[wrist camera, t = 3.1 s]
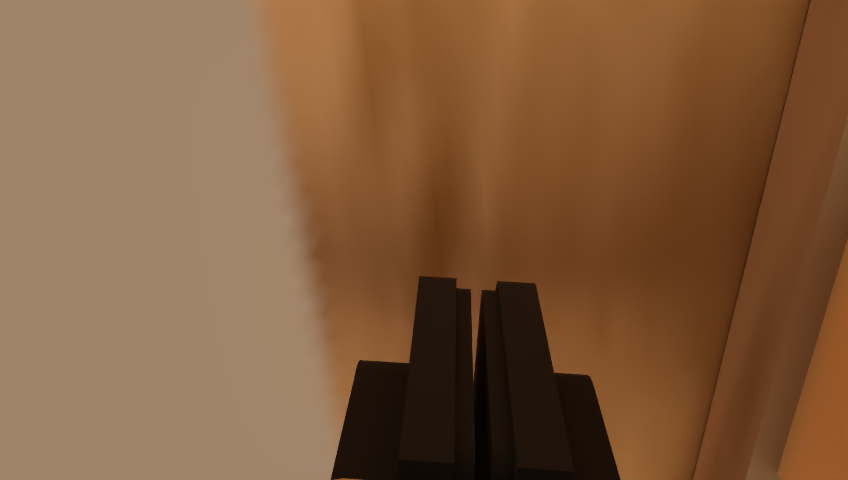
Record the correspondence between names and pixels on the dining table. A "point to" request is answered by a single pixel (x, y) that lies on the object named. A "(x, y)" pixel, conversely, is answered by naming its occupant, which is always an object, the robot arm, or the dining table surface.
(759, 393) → the box
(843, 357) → the orange block
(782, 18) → the dining table surface
